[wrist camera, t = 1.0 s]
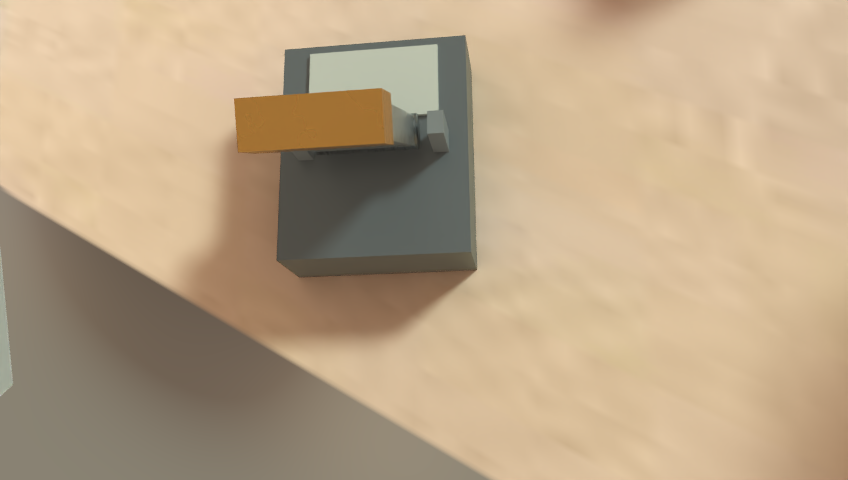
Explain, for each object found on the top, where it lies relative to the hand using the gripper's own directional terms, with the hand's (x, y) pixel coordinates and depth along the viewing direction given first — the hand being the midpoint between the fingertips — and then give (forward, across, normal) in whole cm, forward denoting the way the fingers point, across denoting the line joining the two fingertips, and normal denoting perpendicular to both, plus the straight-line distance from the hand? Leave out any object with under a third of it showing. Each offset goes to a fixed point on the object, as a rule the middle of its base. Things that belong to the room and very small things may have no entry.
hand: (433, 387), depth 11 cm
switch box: (+33, -5, -9) cm, 35 cm away
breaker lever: (+29, -6, -6) cm, 30 cm away
